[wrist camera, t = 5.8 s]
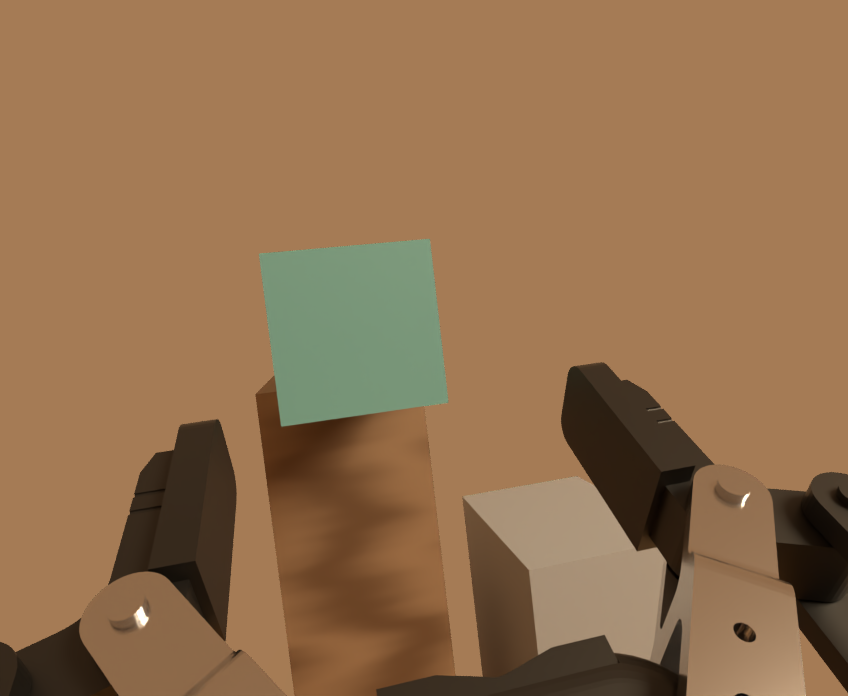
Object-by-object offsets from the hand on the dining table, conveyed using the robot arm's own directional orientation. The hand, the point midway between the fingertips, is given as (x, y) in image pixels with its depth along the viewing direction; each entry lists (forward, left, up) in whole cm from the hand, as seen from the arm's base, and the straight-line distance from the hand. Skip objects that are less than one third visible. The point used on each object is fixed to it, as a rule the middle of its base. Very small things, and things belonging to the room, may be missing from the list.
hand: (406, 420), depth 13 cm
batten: (-1, +13, 0) cm, 13 cm away
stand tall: (-1, +15, -32) cm, 35 cm away
